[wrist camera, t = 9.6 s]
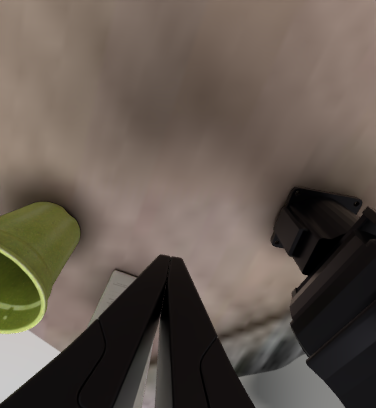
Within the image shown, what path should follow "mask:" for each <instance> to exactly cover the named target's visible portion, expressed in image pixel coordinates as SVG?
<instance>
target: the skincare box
mask: <svg viewBox="0 0 376 408" xmlns="http://www.w3.org/2000/svg"><path fill="white" fill-rule="evenodd" d="M136 278H137V277H134V276H131V275H128V274H125V273H122V272H119V271H116V270H115V271H113V273H112V275H111V277H110V280H109V282H108V284H107V286H106V288H105V290H104V292H103V294H102V297H101V299H100V301H99V303H98V305H97V307H96V310H95V312H94V314H93V316H92V318H91V320H90V322H89V325H88V327H89V326H90V325H91V324H92V323H93V322H94V321H95V320H96V319H98V317H99V316H100V315H101V314H102V313H103V312H104V311H105V310H106V309H107V308H108V307H109V306H110V305H111V304H112V303H113V302H114V301H115V300H116V299H117V298H118V296H119V295H120V294H121V293H122V292H123V291H124V290H125V289H126V288H127V287H128V286H129V285H130V284H131V283H132V282H133V281H134V280H135V279H136ZM88 327H87V328H88ZM153 340H154V339H153ZM152 346H153V343H152ZM152 346H151V349H150V353H149V356H148V359H147V363H146V366H145V369H144V372H143V376H142V379H141V382H140V386H139V389H138V392H137V395H136V399H135V402H134V405H133V408H142V402H143V397H144V391H145V385H146V380H147V374H148V368H149V363H150V357H151V351H152Z"/></svg>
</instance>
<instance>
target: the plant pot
mask: <svg viewBox="0 0 376 408" xmlns="http://www.w3.org/2000/svg"><path fill="white" fill-rule="evenodd" d="M79 239H80V228H79V225H78V223H77V221H76V220H75V218H73V217H71V216H70V215H69V214H68V213H67V212H66V211H65V209H64V208H63V207H61V206H59V205H57V204H54V203H50V202H36V203H33V204H30V205H28V206H25V207H23V208H20V209H18V210H15V211H13V212H10V213H7V214H5V215H2V216H0V333H1V334H11V333H19V332H23V331H26V330H28V329H31V328H32V327H34V326H35V325H36V324H38V323H39V322H40V321H41V319H42V318H43V316H44V314H45V312H46V309H47V300H48V298H49V296H50V293H51V290H52V286H53V284H54V282H55V281H56V279H57V277H58V275H59V274H60V272H61V270H62V269H63V267H64V265H65V263H66V262H67V260H68V259H69V257H70V255H71V254H72V252H73V250H74V249H75V247H76V245H77V244H78V242H79Z"/></svg>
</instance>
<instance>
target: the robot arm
mask: <svg viewBox="0 0 376 408" xmlns="http://www.w3.org/2000/svg"><path fill="white" fill-rule="evenodd" d="M296 191H299V193H298V194H295V193H296ZM355 202H357V203H356V204H354V203H355ZM361 206H362V200H361V199H359V198H357V197H352V196H346V195H341V194H336V193H330V192H325V191H319V190H314V189H309V188H303V187H294V188H293V189H292V190H291V192H290V194H289V197H288V199H287V202H286V204H285V206H284V207H283V208H282V209H281V212H280V214H279V217H278V219H277V222H276V224H275V227H274V234H273V236H272V238H271V243H272V245H273V246H275V247H279V248H284V249H285V250H286V252H287V254H288V255H289V256H290V257H293V259H294V260H295V262H296V264H297V265H298V267H299V269H300V270H301V272H302V274H304V275H308V277H307V278H306V279H305V280H304V281H303V282H302V283H301V285H300V286H299V287H298V288H295V289H294V290H293V291H292V300H291V304H290V311H291V316H292V321H291V322H290V325H291V328H292V331H293V333H294V335H295V337H296V339H297V340H298V342H299V344H300V346H301V347H302V349H303V351H304V352H305V353H306V355H307V356H308V357H309V358H308V359H307V360H306V364H307V365H308V366H309V367H310V368H311V369H312V370H313V371H314V372H315V373H316V374H317V375H318V376H319V377H320V378H321V379H323V380H324V382H325V383H326V384H327V385H328V386H329V387H330V388H331V390H332V391H333V392H334V393H335V394H336V396H337V397H338V398H339V399H340V401H341V402H342V403H343V405H344V406H345V408H376V210H375V209H373V208H371V207H367V208H366V209H365V210H364V211H363V212H362V213H363V215H362V216H361V217H360V218H359V217H358V216H357V215H356V214H357V212H358V211H359V209H360V207H361ZM275 241H278V242H276V243H275ZM170 259H171V260H170ZM168 270H169V271H168ZM167 276H168V277H167ZM166 281H167V282H166ZM165 287H166V288H165ZM163 298H164V299H163ZM162 304H163V305H162ZM161 309H162V310H161ZM160 314H161V317H160ZM159 319H160V328H159V345H158V362H157V379H156V397H155V408H255V406H254V404H253V403H252V401H251V399H250V398H249V397H248V394H247V393H246V391H245V389H244V387H243V385H242V384H241V382H240V380H239V378H238V376H237V375H236V373H235V371H234V369H233V367H232V365H231V363H230V361H229V359H228V357H227V355H226V353H225V351H224V349H223V346H222V344H221V342H220V340H219V338H217V333H216V331H215V329H214V327H213V325H212V323H211V320H210V318H209V316H208V314H207V312H206V309H205V307H204V305H203V303H202V301H201V298H200V296H199V294H198V292H197V290H196V287H195V285H194V283H193V281H192V279H191V276H190V274H189V272H188V270H187V268H186V266H185V263H184V261H183V259H182V258H179V257H173V256H172V257H170V256H167V255H159V256H158V257H157V258H156V259H155V260H154V261H153V262H152V263H151V264H150V265H149V266H148V267H147V268H146V269H145V270H144V271H143V272H142V273H141V274H140V275H139V276H138V277H137V278H136V279H135V280H134V281H133V282H132V283H131V284H130V285H129V286H128V287H127V288H126V289H125V290H124V291H123V292H122V293H121V294H120V295H119V296H118V298H117V299H116V300H115V301H114V302H113V303H112V304H111V305H110V306H109V307H108V308H107V309H106V310H105V311H104V312H103V313H102V314H101V315H100V316H99V317H98V319H96V320H95V321H94V322H93V323H92V324H91V325H90V326H89V327H88V328H87V329H86V330H85V331H84V332H83V333H82V334H81V335H80V336H79V337H78V338H77V339H75V340H74V341H73V342H72V343H71V344H70V345H69V346H68V347H67V348H66V349H65V350H63V351H62V352H61V353H60V354H59V355H58V356H57V357H55V358H54V359H53V360H52V361H51V362H50V363H49V364H47V365H46V366H45V367H44V368H42V369H41V370H40V371H39V372H38V373H36V374H35V375H34V376H33V377H32V378H30V379H29V380H28V381H27V382H26V383H25V384H23V385H22V386H21V387H20V388H19V389H17V390H16V391H15V392H14V393H13V394H11V395H10V396H9V397H8V398H7V399H5V400H4V401H3V402H2V403H1V404H0V408H133V405H134V402H135V399H136V395H137V392H138V389H139V386H140V382H141V379H142V376H143V372H144V369H145V366H146V363H147V359H148V356H149V353H150V349H151V346H152V343H153V339H154V336H155V333H156V330H157V326H158V323H159Z"/></svg>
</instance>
